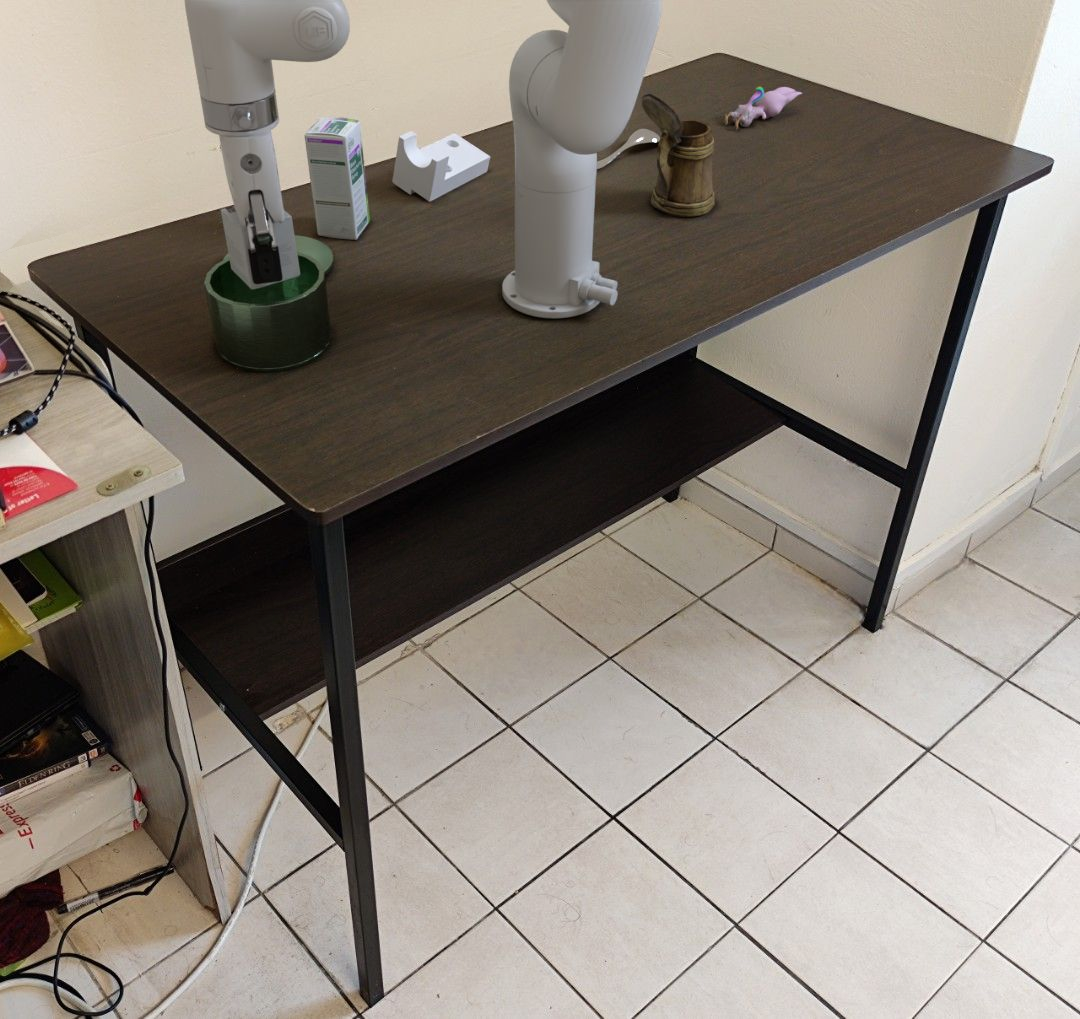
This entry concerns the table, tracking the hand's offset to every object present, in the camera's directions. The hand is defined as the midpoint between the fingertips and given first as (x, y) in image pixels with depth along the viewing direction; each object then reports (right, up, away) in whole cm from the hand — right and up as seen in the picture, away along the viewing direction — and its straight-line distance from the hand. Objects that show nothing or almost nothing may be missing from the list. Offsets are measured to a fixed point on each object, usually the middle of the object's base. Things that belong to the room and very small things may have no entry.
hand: (263, 263), depth 133 cm
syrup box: (+4, +10, +29) cm, 31 cm away
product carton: (0, -1, +1) cm, 1 cm away
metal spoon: (+42, +25, +47) cm, 68 cm away
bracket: (+17, +20, +41) cm, 49 cm away
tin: (0, -8, +6) cm, 10 cm away
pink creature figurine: (+67, +36, +61) cm, 98 cm away
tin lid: (-3, +4, +20) cm, 20 cm away
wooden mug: (+50, +15, +35) cm, 63 cm away
